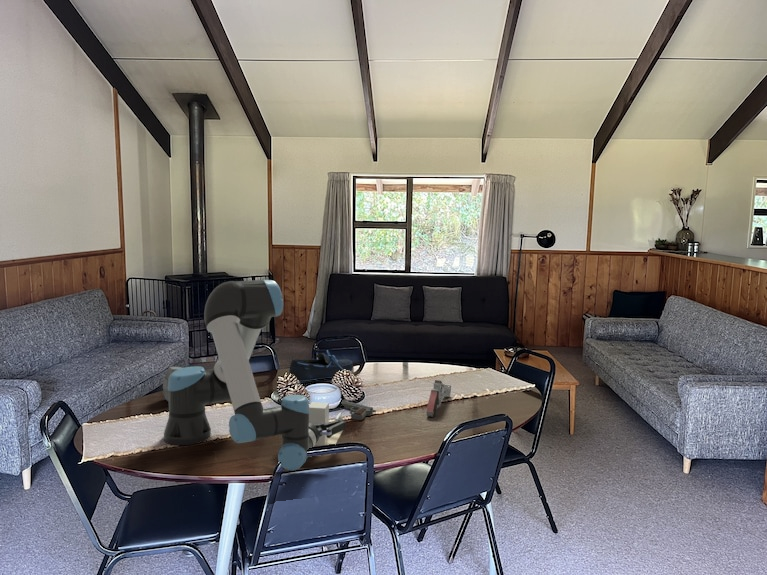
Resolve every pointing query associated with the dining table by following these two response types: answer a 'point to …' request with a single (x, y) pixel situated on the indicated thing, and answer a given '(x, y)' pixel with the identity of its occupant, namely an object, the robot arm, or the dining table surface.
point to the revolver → (437, 397)
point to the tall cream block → (319, 418)
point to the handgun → (358, 410)
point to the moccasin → (318, 367)
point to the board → (333, 438)
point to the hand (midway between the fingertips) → (320, 415)
